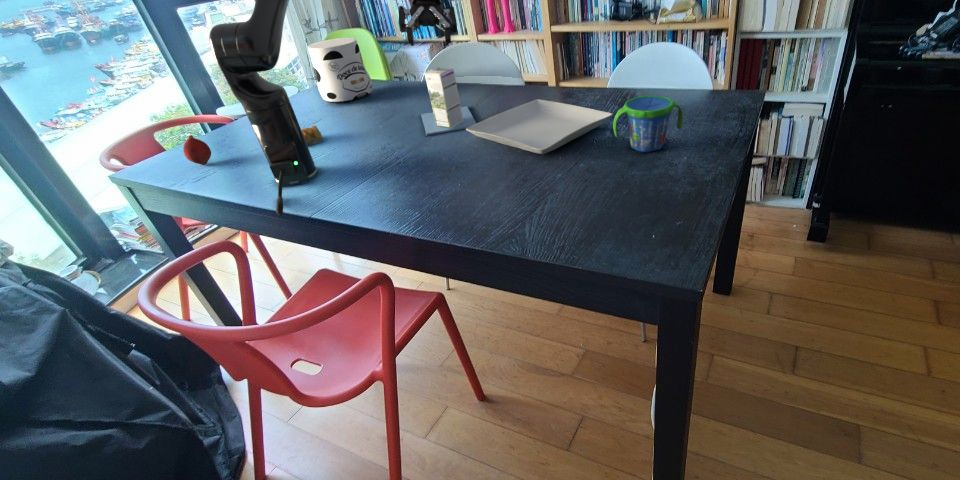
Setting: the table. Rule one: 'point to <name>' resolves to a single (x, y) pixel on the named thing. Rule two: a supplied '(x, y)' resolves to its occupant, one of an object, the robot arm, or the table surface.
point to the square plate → (539, 125)
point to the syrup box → (444, 97)
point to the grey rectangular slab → (433, 129)
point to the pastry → (312, 135)
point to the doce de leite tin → (340, 70)
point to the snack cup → (648, 121)
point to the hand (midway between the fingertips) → (429, 43)
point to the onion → (196, 150)
